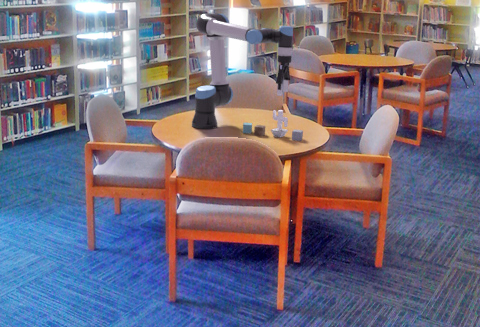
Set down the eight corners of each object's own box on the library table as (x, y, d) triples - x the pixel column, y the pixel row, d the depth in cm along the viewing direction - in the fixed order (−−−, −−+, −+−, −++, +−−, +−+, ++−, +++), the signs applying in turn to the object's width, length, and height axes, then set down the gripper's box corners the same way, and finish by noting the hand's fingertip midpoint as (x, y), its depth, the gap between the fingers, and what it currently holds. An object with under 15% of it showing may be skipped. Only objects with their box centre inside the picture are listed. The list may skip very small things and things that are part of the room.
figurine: (282, 138, 329) (284, 112, 324) (268, 135, 334) (270, 109, 329) (289, 136, 334) (291, 110, 330) (275, 133, 339) (276, 108, 335)
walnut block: (254, 135, 334) (254, 126, 332) (256, 133, 338) (257, 124, 337) (262, 136, 332) (262, 127, 331) (264, 134, 337) (265, 125, 336)
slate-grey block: (291, 139, 328) (292, 131, 326) (293, 137, 332) (294, 129, 331) (300, 141, 326) (301, 132, 325) (302, 139, 331) (303, 130, 329)
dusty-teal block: (242, 133, 337) (243, 124, 336) (243, 130, 342) (243, 122, 341) (251, 133, 337) (251, 125, 336) (251, 131, 342) (252, 123, 340)
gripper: (285, 57, 308) (283, 97, 314) (296, 53, 331) (294, 90, 337) (272, 56, 310) (269, 96, 316) (283, 52, 333) (281, 89, 339)
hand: (282, 93), depth 327 cm, fingers open, 13 cm apart
